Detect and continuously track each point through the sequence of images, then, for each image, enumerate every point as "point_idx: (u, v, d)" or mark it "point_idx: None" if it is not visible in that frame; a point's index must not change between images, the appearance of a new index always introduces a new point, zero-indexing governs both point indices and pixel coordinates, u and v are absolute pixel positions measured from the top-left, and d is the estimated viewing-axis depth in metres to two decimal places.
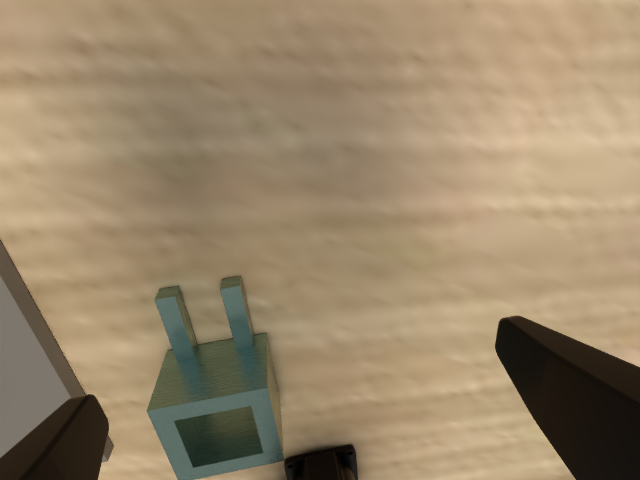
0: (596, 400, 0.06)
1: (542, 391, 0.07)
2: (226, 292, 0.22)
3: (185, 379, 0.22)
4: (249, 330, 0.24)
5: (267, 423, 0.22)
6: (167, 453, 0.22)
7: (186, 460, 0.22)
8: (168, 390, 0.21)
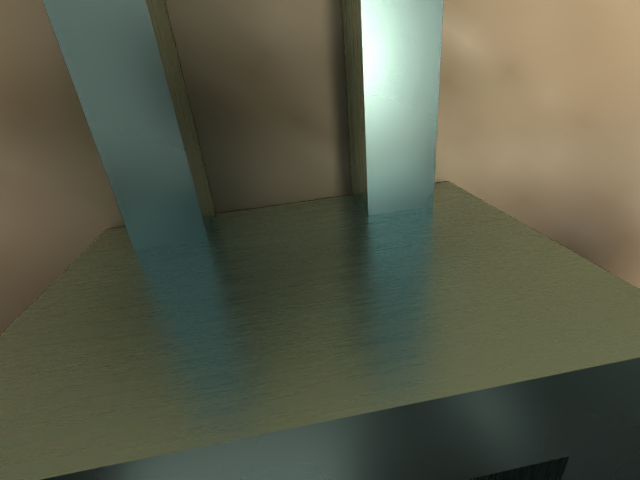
0: None
1: None
2: None
3: (164, 308, 0.04)
4: (432, 127, 0.06)
5: None
6: None
7: None
8: (53, 364, 0.04)
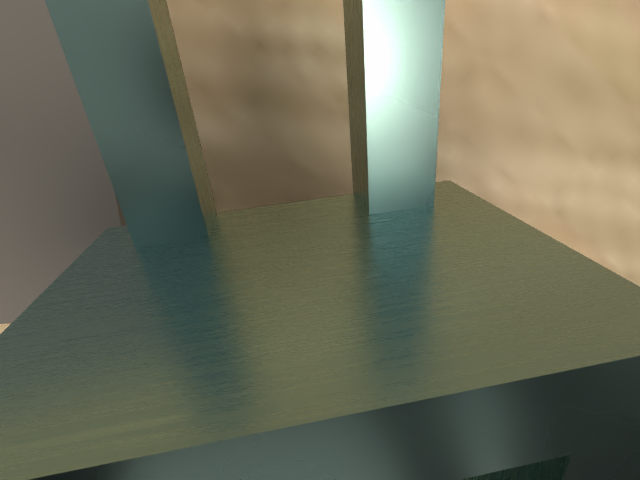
0: None
1: None
2: None
3: (165, 306, 0.04)
4: (433, 125, 0.06)
5: None
6: None
7: None
8: (55, 362, 0.04)
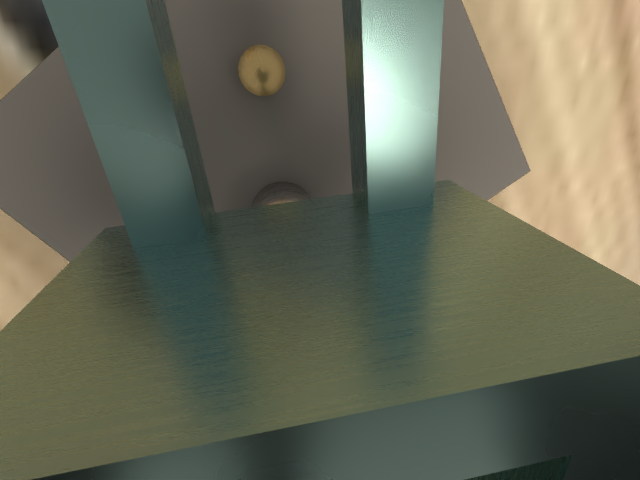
0: None
1: None
2: None
3: (163, 306, 0.04)
4: (433, 124, 0.06)
5: None
6: None
7: None
8: (50, 363, 0.03)
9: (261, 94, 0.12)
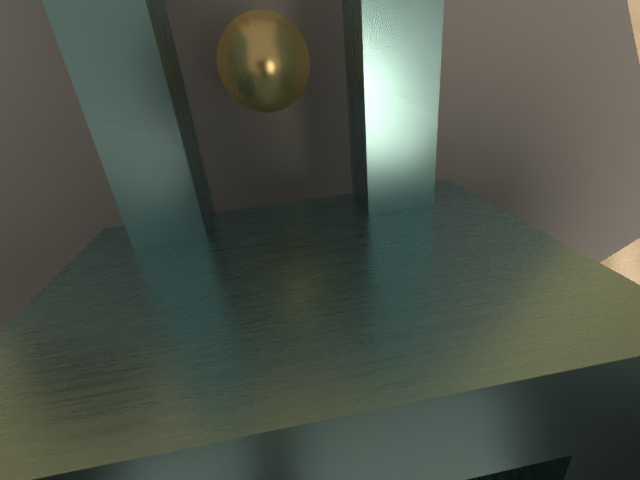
0: None
1: None
2: None
3: (162, 306, 0.04)
4: (433, 124, 0.06)
5: None
6: None
7: None
8: (49, 362, 0.03)
9: (263, 109, 0.06)
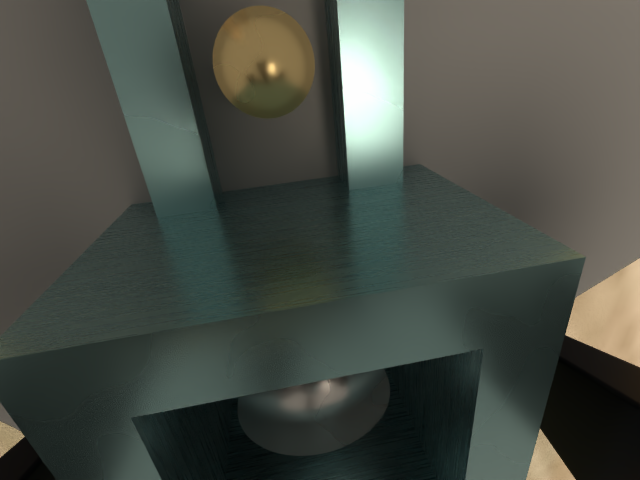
0: (596, 400, 0.06)
1: None
2: None
3: (186, 252, 0.06)
4: (400, 116, 0.07)
5: (512, 428, 0.06)
6: None
7: None
8: (109, 286, 0.05)
9: (263, 114, 0.06)
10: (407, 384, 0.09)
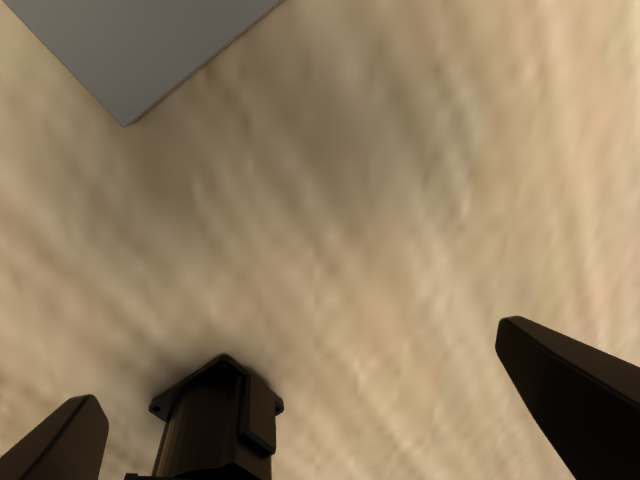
0: (596, 400, 0.06)
1: (542, 392, 0.07)
2: None
3: None
4: None
5: None
6: None
7: None
8: None
9: None
10: None
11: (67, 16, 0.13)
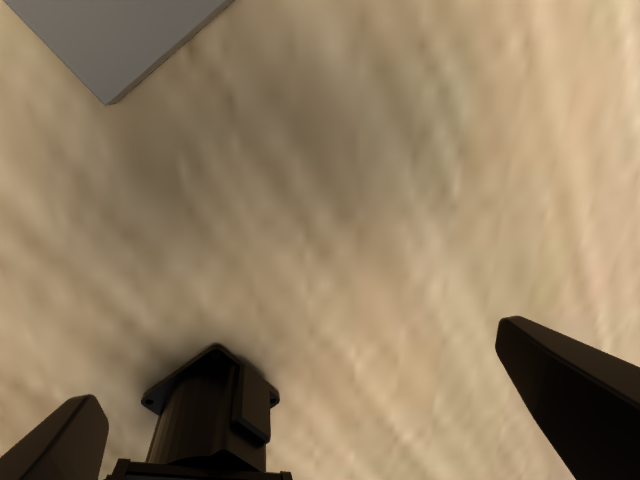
0: (596, 400, 0.06)
1: (542, 391, 0.07)
2: None
3: None
4: None
5: None
6: None
7: None
8: None
9: None
10: None
11: None
